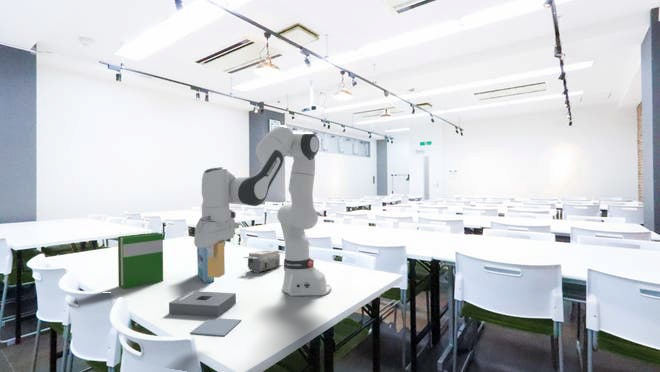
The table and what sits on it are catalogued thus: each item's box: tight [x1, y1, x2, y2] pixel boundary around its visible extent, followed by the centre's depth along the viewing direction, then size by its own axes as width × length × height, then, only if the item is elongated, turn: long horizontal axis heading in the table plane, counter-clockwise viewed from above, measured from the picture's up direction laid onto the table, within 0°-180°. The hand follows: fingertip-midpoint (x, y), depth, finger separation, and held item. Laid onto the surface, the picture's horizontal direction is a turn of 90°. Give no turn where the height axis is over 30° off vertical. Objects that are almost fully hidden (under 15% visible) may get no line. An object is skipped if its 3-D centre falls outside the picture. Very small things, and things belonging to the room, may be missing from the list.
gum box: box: [196, 247, 215, 284], centre depth 170 cm, size 19×5×23 cm, turn 31°
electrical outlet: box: [243, 249, 284, 273], centre depth 188 cm, size 12×28×10 cm, turn 156°
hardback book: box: [117, 232, 164, 290], centre depth 161 cm, size 18×7×24 cm, turn 139°
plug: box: [207, 240, 226, 279], centre depth 110 cm, size 4×4×12 cm
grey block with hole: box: [168, 290, 237, 318], centre depth 128 cm, size 20×14×4 cm
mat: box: [189, 317, 242, 337], centre depth 110 cm, size 12×12×1 cm
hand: (216, 255), depth 110 cm, fingers closed on plug, 4 cm apart
